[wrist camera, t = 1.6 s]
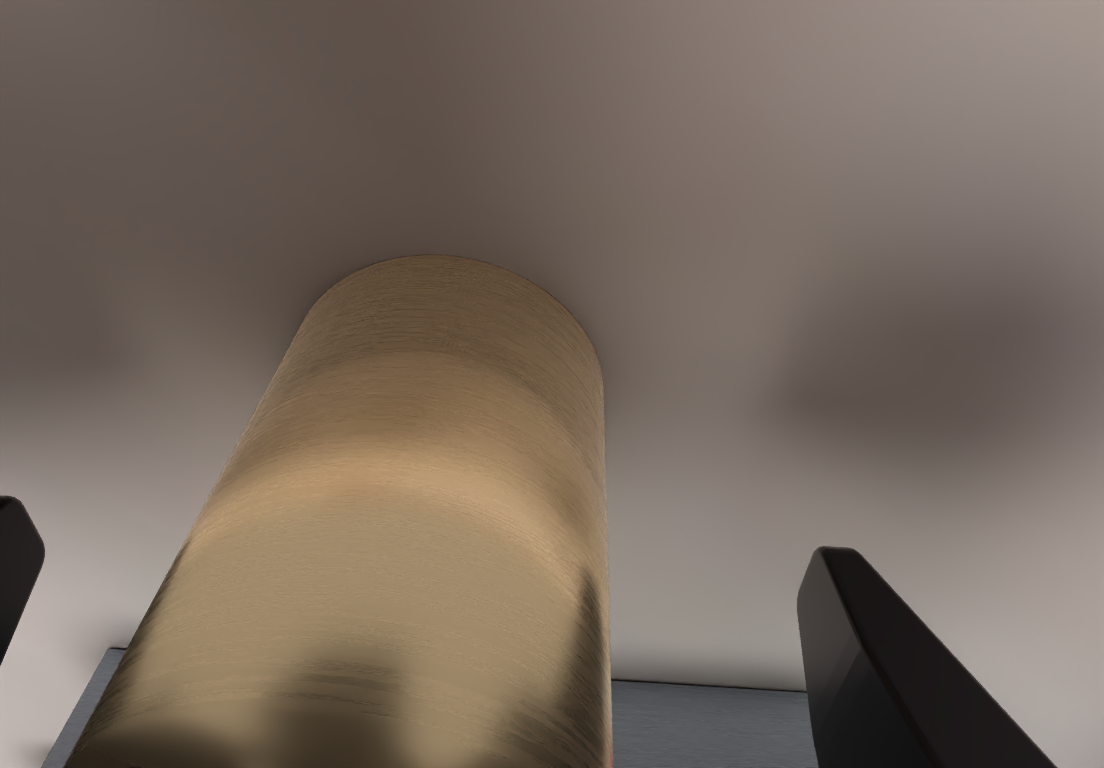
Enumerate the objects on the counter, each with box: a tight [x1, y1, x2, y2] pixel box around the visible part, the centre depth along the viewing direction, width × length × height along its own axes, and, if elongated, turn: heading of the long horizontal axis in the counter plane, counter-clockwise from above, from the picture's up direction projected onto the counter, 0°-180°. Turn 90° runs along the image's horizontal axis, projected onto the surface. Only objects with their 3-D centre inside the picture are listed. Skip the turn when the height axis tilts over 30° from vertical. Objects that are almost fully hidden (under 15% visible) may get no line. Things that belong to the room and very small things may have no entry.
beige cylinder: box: [63, 255, 613, 768], centre depth 8 cm, size 4×4×7 cm
